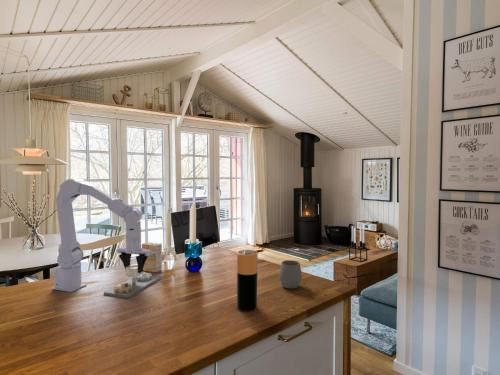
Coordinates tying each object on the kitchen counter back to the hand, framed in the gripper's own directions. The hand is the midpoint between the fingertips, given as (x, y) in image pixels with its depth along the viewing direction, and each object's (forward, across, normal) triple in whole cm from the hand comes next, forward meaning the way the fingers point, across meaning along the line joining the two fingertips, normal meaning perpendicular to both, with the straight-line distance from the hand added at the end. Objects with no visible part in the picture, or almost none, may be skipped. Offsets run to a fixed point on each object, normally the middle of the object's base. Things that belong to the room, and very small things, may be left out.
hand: (134, 271), depth 132 cm
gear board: (+6, 0, 0) cm, 6 cm away
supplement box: (+6, -5, +20) cm, 22 cm away
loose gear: (+1, 0, 0) cm, 1 cm away
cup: (+7, +61, +20) cm, 65 cm away
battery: (+6, +50, -5) cm, 51 cm away
